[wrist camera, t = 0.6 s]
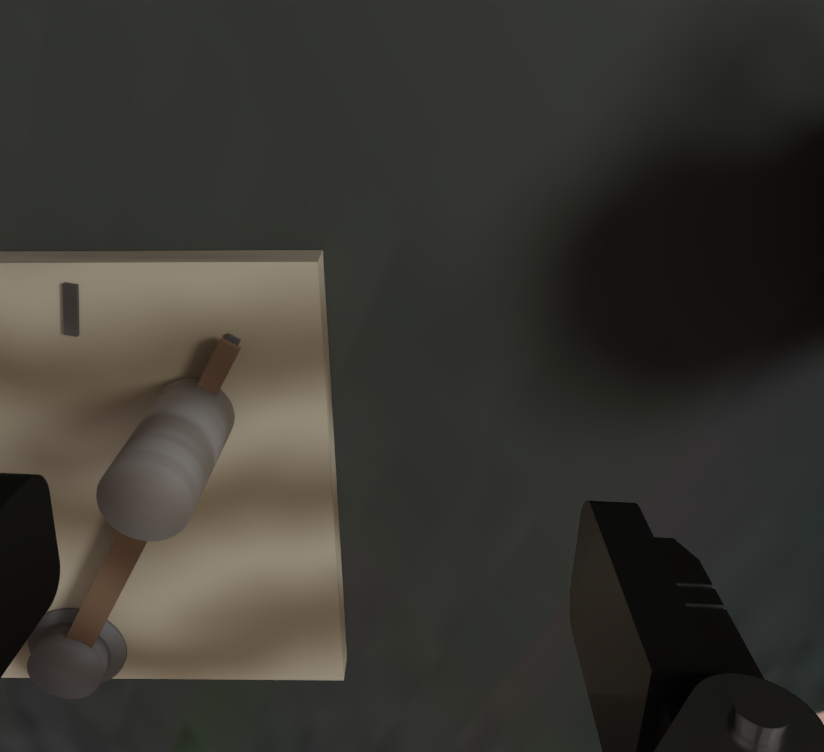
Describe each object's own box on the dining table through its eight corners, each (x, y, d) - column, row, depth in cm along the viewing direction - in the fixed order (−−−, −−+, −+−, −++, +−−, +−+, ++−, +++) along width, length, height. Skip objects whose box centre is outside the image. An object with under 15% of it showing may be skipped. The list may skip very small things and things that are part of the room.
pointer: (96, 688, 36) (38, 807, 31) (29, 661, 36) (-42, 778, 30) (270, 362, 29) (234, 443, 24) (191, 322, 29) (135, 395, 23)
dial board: (-309, 252, 30) (-349, 265, 28) (322, 250, 29) (316, 263, 28) (-145, 655, 38) (-169, 682, 37) (346, 659, 38) (343, 686, 36)
